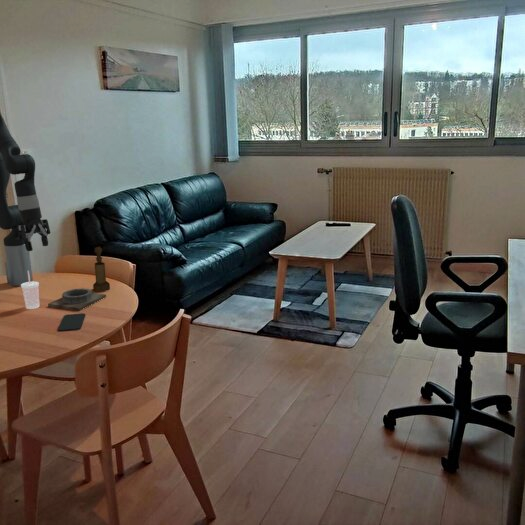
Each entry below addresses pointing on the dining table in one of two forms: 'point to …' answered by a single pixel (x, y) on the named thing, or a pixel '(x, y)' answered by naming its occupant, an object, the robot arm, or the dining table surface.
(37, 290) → the beverage cup
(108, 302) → the dining table surface
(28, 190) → the robot arm
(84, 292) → the ring holder
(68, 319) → the phone
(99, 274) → the pepper mill
